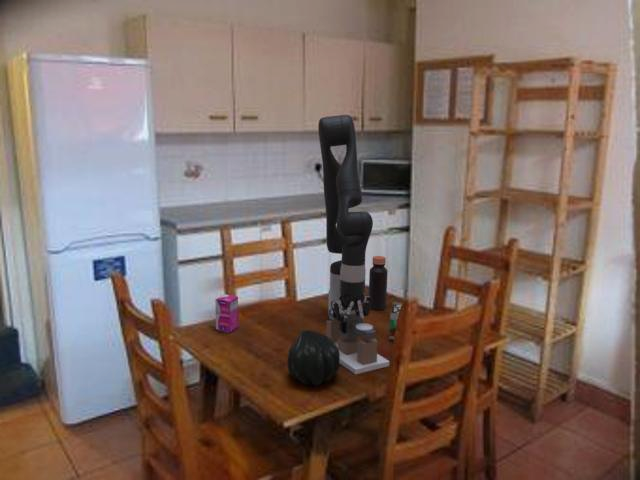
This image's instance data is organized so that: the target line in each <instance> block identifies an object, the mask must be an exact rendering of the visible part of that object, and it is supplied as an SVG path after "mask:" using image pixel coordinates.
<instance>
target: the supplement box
mask: <svg viewBox="0 0 640 480" xmlns="http://www.w3.org/2000/svg"><path fill="white" fill-rule="evenodd" d="M214 301H215V331H216V332H217V331H219V332H223V333H228V334H231V333H232V332H234V331H235V330H237V329H238V328H239V296H236V295H230V294H226V293H224V294H221V295H220V296H218V297H216V298H215V299H214Z"/></svg>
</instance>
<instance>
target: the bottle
mask: <svg viewBox="0 0 640 480" xmlns="http://www.w3.org/2000/svg"><path fill="white" fill-rule="evenodd" d="M386 259H387V257H385V256H383V255H382V256H381V255H375V256H373V257H372V267H370V269H369V276H368V277H369V278H368V279H369V280H368V283H369V284H368V296H370V297H371V298H372V304H371V308H370V310H373V311H383V309H384V310H385V309H386V308H387V291H388V269H387V268H386V267H385V265H386V263H387V262H386Z"/></svg>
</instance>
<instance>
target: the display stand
mask: <svg viewBox="0 0 640 480" xmlns="http://www.w3.org/2000/svg"><path fill="white" fill-rule="evenodd" d="M325 322H326V327H325V328H326V329H325V335H326V336H327V337H329V338H330V339H332V340H333V342H334V343H335V344H336V346H337V348H338V350H339V353H340V359H339V365H342V366H343V367H344V368H346V370H348V371H350V372H351V373H352V374H354V375H359V374H362V373H366V372H371V371H375V370H378V369H382V368H388V367H390V360H388V359H387V358H385V357H384V356H382V355H380V354H379V353H378V346H379V345H378V340H377V339H376V338H374V339H369V340H367V339H365V338H363V339H361V338H360V337H356V338H351V339H346V338H345V337H343V336H342V335H340V330H339V322H338V321H336V320H335V319H334V320H332V319H329V320H328V319H327V320H326V321H325Z"/></svg>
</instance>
